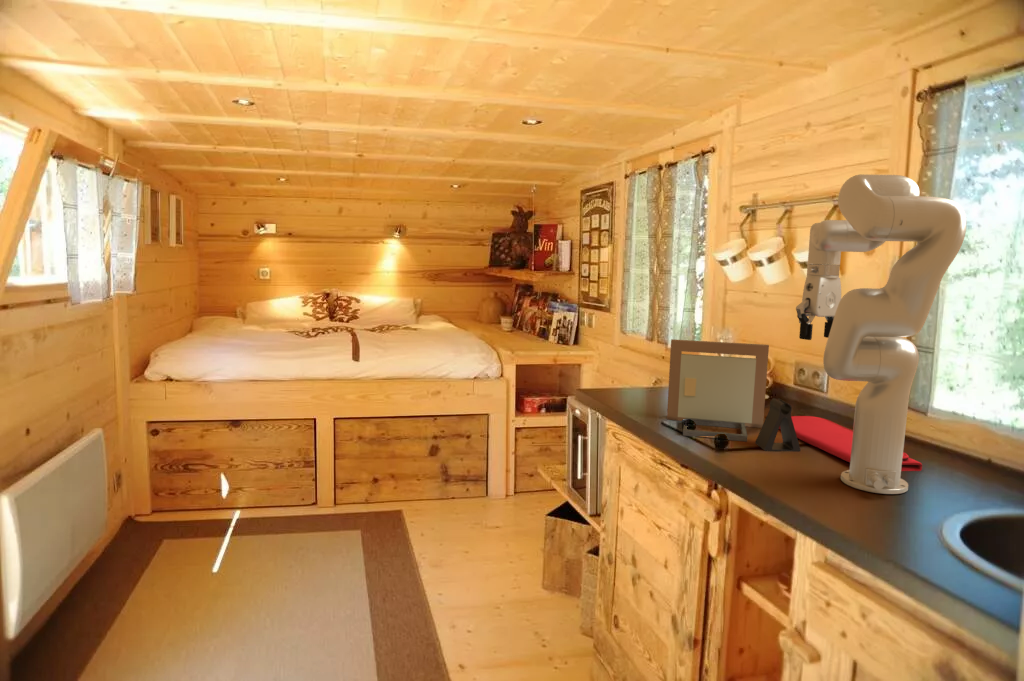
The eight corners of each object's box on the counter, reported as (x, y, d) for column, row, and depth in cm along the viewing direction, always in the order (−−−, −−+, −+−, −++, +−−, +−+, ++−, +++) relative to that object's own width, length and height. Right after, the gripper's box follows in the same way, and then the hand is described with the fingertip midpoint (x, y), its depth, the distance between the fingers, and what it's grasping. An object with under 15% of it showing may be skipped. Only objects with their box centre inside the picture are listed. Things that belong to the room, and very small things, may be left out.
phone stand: (790, 444, 171) (793, 398, 170) (800, 451, 165) (804, 403, 164) (754, 444, 171) (758, 397, 170) (764, 451, 165) (767, 403, 164)
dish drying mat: (820, 425, 193) (822, 412, 192) (924, 473, 153) (926, 457, 152) (768, 426, 191) (769, 413, 191) (859, 474, 151) (861, 458, 150)
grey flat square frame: (747, 441, 173) (747, 435, 173) (682, 435, 177) (683, 430, 177) (744, 428, 186) (744, 422, 186) (684, 422, 191) (684, 417, 191)
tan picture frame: (762, 428, 187) (769, 345, 183) (666, 419, 194) (671, 340, 190) (761, 424, 191) (767, 343, 188) (667, 416, 198) (671, 338, 195)
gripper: (813, 272, 164) (808, 341, 166) (857, 272, 173) (852, 338, 175) (787, 271, 171) (782, 338, 173) (831, 271, 179) (826, 335, 181)
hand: (817, 338), depth 174 cm, fingers open, 9 cm apart
